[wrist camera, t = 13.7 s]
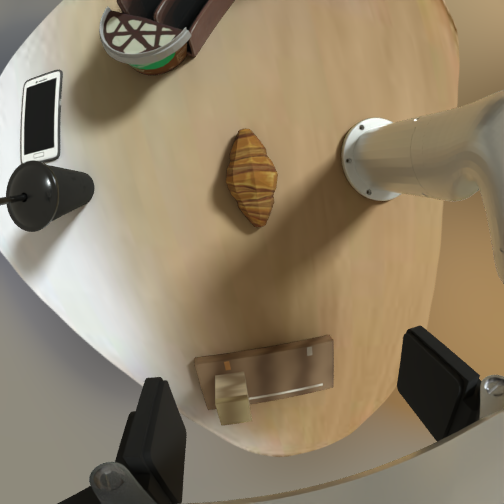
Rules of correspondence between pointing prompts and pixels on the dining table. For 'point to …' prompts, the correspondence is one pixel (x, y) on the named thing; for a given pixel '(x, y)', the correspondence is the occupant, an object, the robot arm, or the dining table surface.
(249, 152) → the croissant
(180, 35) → the food container
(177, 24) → the letter holder
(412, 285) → the dining table surface
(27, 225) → the drinking cup
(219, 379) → the block
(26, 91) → the cell phone
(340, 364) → the dining table surface
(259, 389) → the walnut board
